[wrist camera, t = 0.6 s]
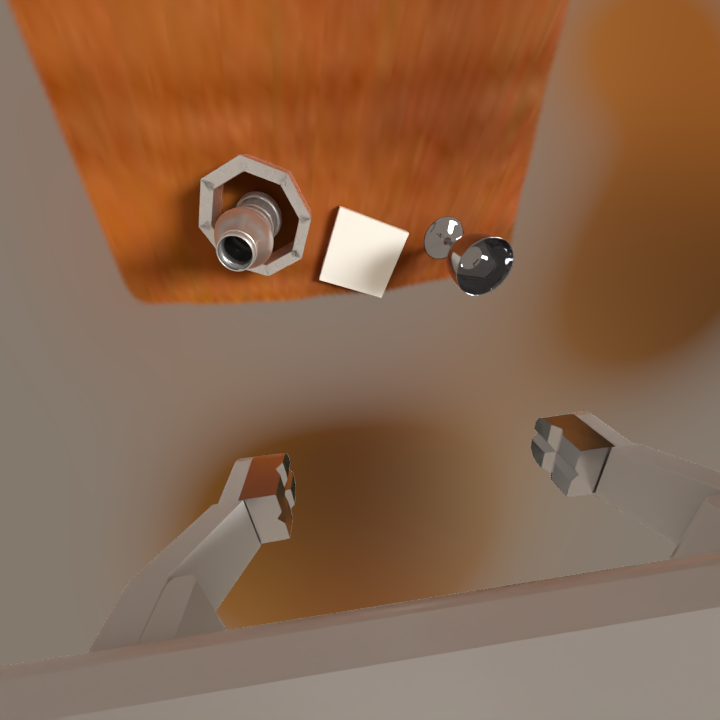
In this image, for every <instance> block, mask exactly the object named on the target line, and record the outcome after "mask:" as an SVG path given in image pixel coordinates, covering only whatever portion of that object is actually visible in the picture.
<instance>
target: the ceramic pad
mask: <svg viewBox="0 0 720 720" xmlns="http://www.w3.org/2000/svg"><path fill="white" fill-rule="evenodd" d="M408 235H409V233H408V232H407V231H405V230H402V229H399V228H397V227H394V226H392V225H389V224H386V223H384V222H381V221H379V220H376V219H373V218H371V217H368V216H365V215H363V214H360V213H358V212H355V211H352V210H350V209H347V208H345V207H342V206H339V209H338V212H337V215H336V219H335V222H334V226H333V229H332V233H331V236H330V240H329V243H328V247H327V250H326V254H325V257H324V261H323V264H322V268H321V271H320V275H319V280H321V281H325V282H328V283H332V284H335V285H339V286H342V287H345V288H349V289H352V290H356V291H359V292H363V293H366V294H370V295H373V296H376V297H380V298H382V295H383V293H384V291H385V288H386V286H387V284H388V281H389V279H390V277H391V274H392V272H393V270H394V267H395V265H396V263H397V260H398V258H399V256H400V253H401V251H402V249H403V246H404V244H405V242H406V239H407V237H408Z"/></svg>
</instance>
